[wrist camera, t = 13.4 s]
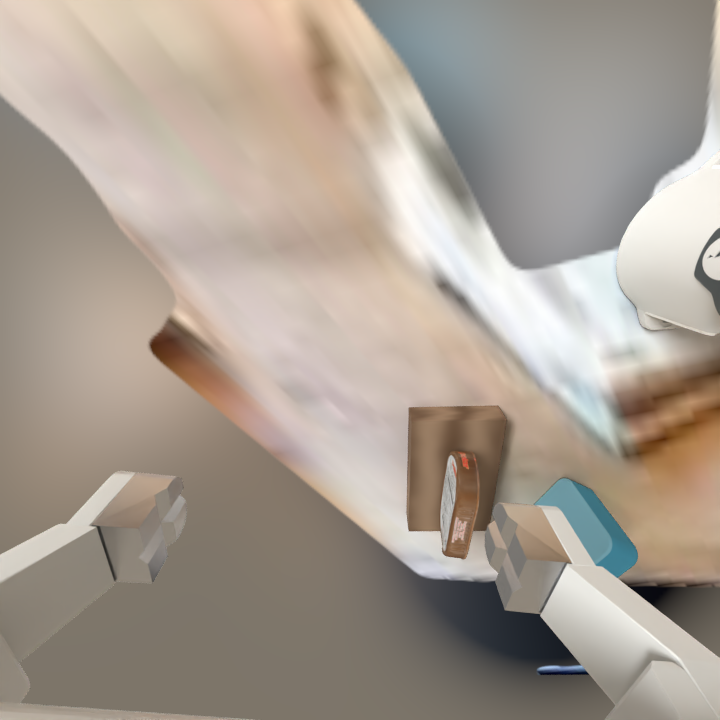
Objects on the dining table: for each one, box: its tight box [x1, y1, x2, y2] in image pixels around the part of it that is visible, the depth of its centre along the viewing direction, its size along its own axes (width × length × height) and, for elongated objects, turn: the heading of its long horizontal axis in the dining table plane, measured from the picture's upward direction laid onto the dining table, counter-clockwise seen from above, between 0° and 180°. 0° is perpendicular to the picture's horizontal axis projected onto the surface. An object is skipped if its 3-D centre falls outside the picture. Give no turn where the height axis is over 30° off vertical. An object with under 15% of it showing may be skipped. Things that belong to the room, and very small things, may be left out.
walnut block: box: [407, 406, 507, 531], centre depth 50 cm, size 12×20×4 cm, turn 2°
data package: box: [534, 478, 638, 578], centre depth 49 cm, size 12×4×12 cm, turn 153°
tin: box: [439, 451, 480, 559], centre depth 45 cm, size 15×3×8 cm, turn 179°
